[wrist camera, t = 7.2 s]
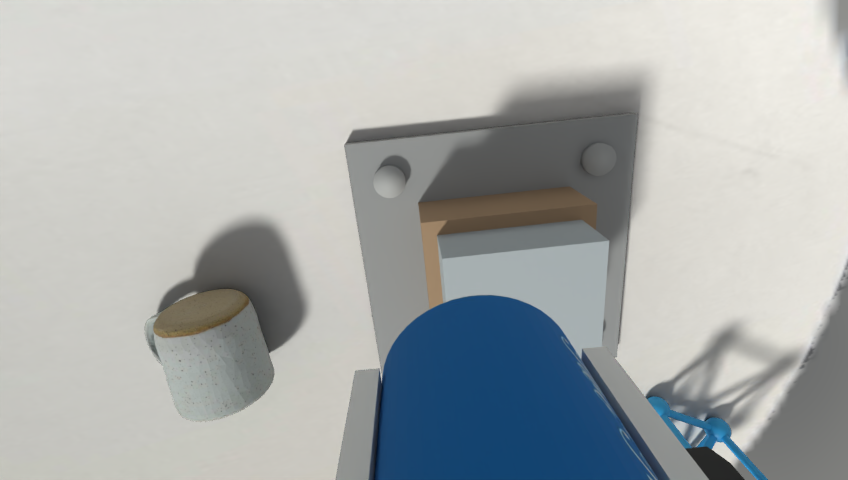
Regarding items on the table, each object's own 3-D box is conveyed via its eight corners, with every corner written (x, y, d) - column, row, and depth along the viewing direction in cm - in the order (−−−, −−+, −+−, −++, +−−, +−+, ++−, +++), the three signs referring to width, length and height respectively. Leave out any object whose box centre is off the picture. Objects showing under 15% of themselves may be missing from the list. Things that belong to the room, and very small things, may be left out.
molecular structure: (595, 457, 45) (645, 556, 36) (647, 388, 42) (717, 476, 33) (669, 480, 47) (736, 580, 38) (724, 415, 44) (812, 506, 34)
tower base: (345, 143, 32) (322, 169, 22) (631, 113, 32) (725, 126, 23) (383, 376, 40) (377, 467, 30) (611, 350, 40) (675, 433, 31)
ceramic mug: (261, 277, 35) (223, 327, 28) (286, 355, 38) (257, 419, 31) (139, 294, 36) (71, 348, 28) (174, 371, 39) (119, 438, 31)
